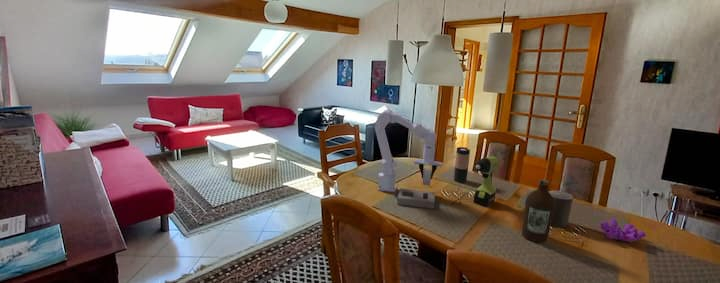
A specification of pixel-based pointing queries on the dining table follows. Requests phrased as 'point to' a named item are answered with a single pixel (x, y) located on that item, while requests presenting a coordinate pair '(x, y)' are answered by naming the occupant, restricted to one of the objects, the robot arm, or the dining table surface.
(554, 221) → the pillar candle
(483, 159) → the cordless drill
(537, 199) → the olive oil
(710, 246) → the dining table surface
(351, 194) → the dining table surface
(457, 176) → the travel mug
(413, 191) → the socket block
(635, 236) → the purple coral
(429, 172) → the square peg
